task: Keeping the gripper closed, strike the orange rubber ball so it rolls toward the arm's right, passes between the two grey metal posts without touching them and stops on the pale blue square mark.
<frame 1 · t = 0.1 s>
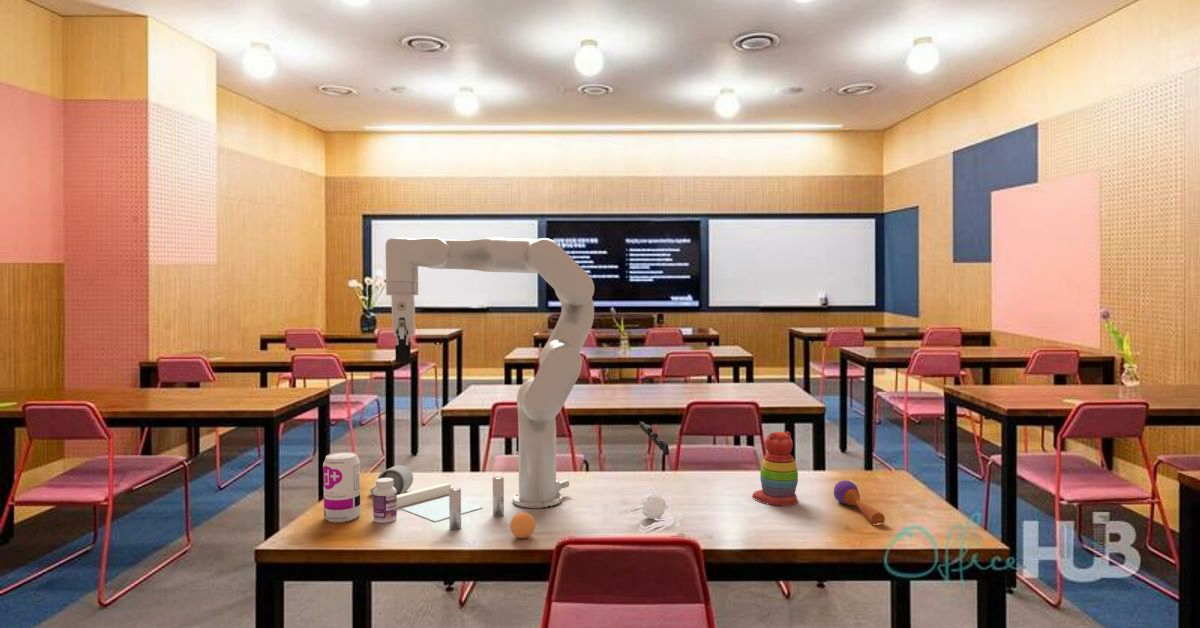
hand: (403, 359, 178), 37 cm above the table, tool pointing down, fingers open, 9 cm apart
ball: (522, 525, 161), on the table
post 1: (455, 528, 167), on the table
pill bottle: (385, 520, 173), on the table
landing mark: (442, 508, 181), on the table
stacking bear: (778, 501, 188), on the table
post 2: (498, 514, 176), on the table
supplement can: (342, 518, 175), on the table
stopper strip: (419, 500, 188), on the table
ceramic mug: (390, 495, 193), on the table
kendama: (858, 513, 178), on the table
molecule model: (651, 519, 174), on the table
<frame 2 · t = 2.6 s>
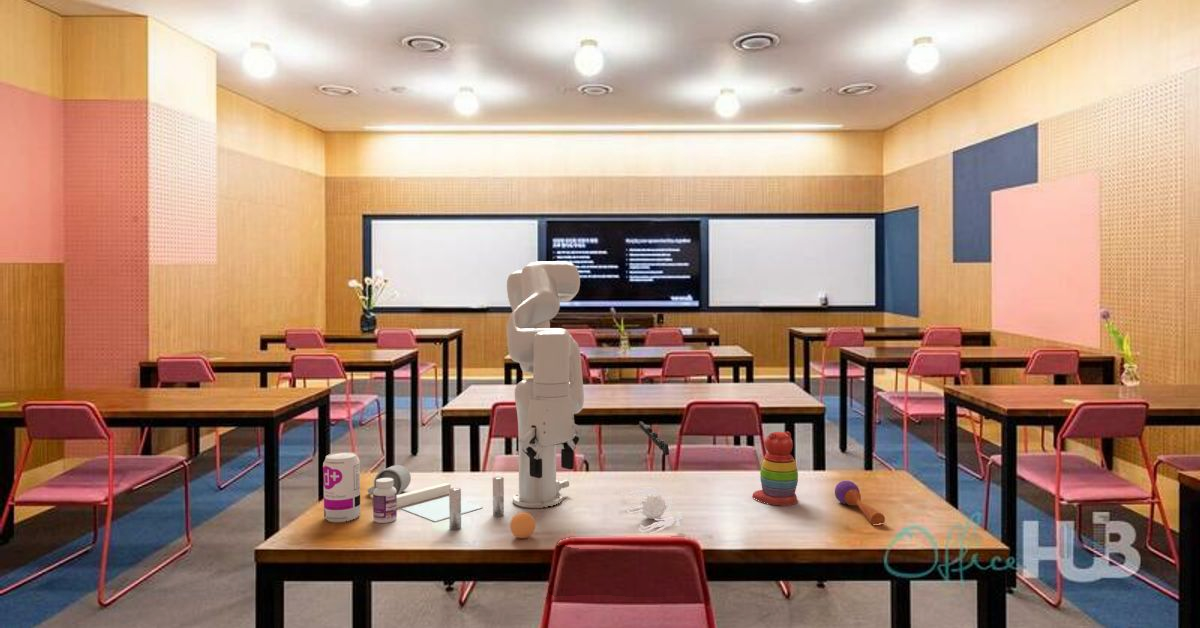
hand: (552, 472, 154), 16 cm above the table, tool pointing down, fingers open, 8 cm apart
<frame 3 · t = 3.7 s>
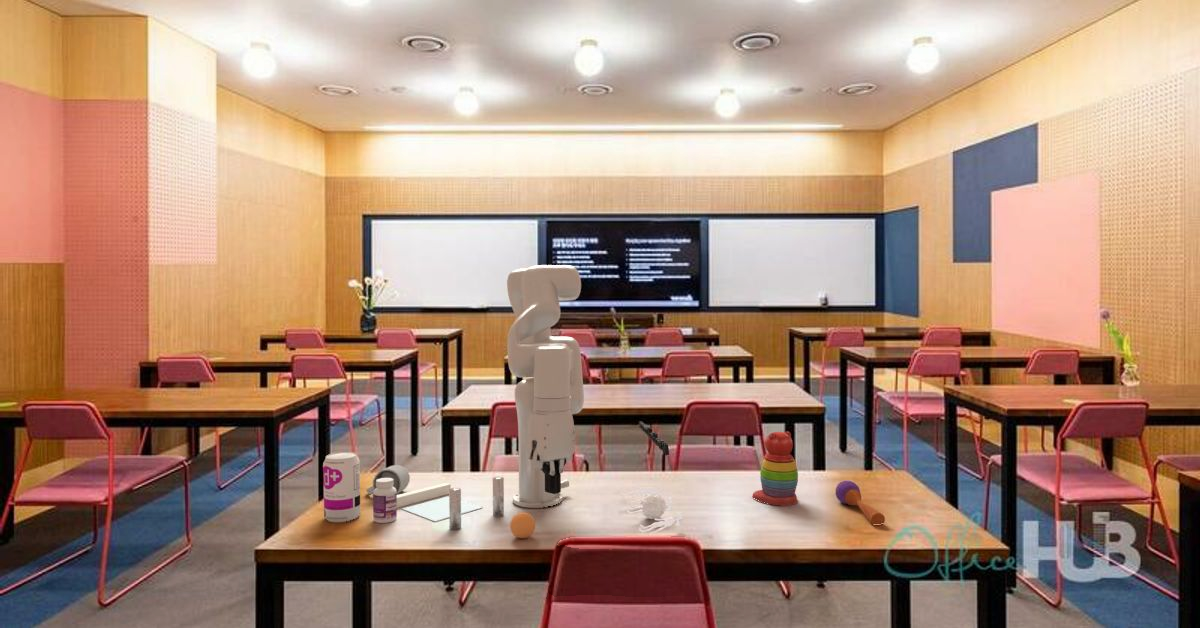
hand: (552, 492, 153), 12 cm above the table, tool pointing down, fingers closed
nothing on the table moved.
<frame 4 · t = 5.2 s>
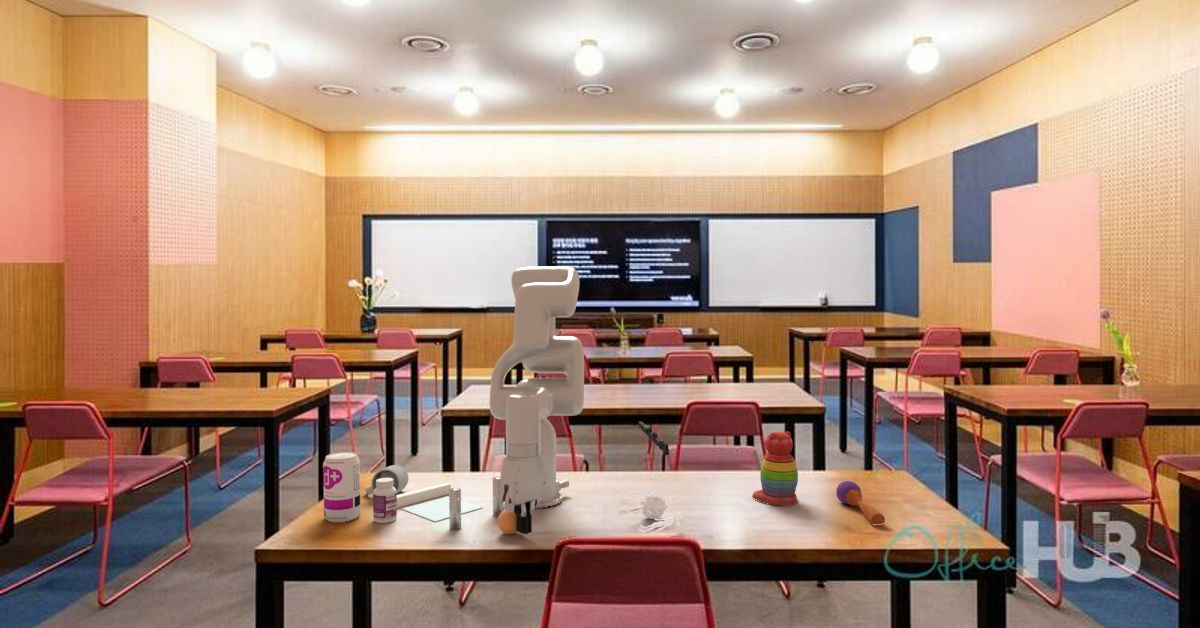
hand: (524, 531, 161), 1 cm above the table, tool pointing down, fingers closed
ball: (509, 521, 163), on the table
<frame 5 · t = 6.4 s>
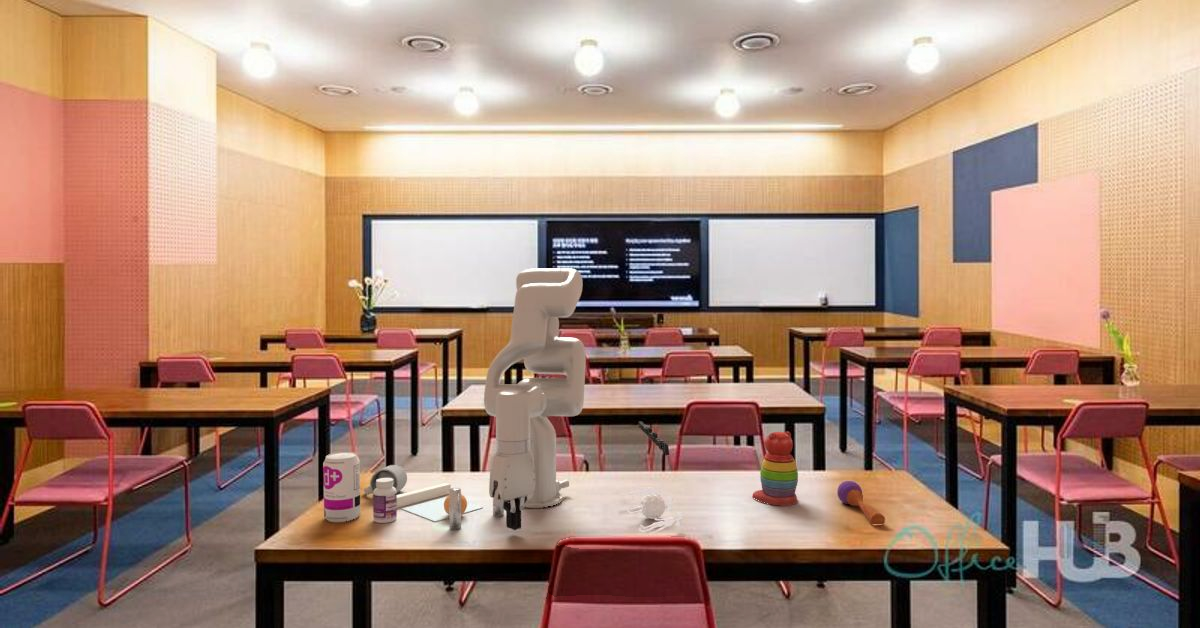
hand: (513, 527, 163), 1 cm above the table, tool pointing down, fingers closed
ball: (455, 504, 176), on the table
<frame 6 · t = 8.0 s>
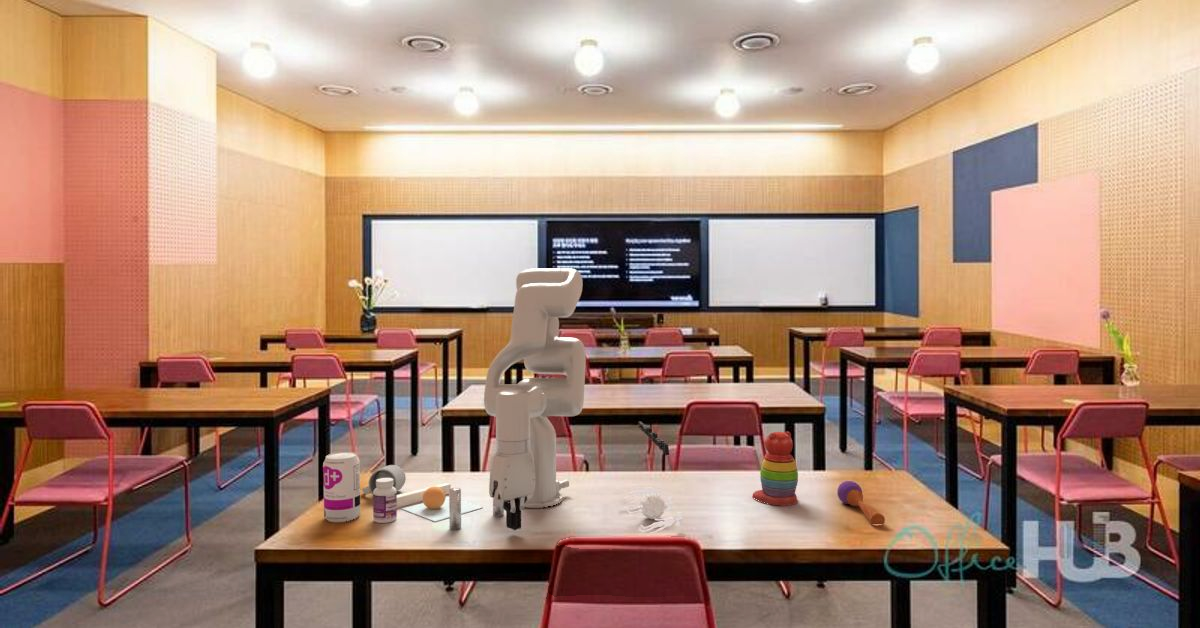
hand: (513, 527, 163), 1 cm above the table, tool pointing down, fingers closed
ball: (434, 497, 181), on the table
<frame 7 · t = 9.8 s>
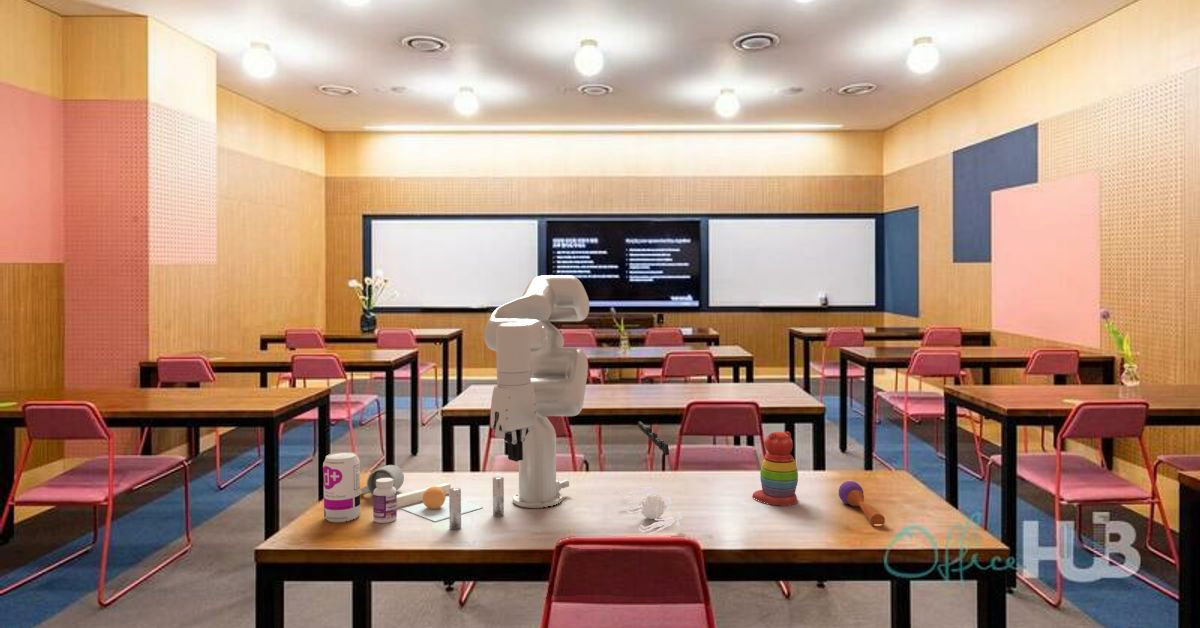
hand: (515, 459, 164), 16 cm above the table, tool pointing down, fingers closed
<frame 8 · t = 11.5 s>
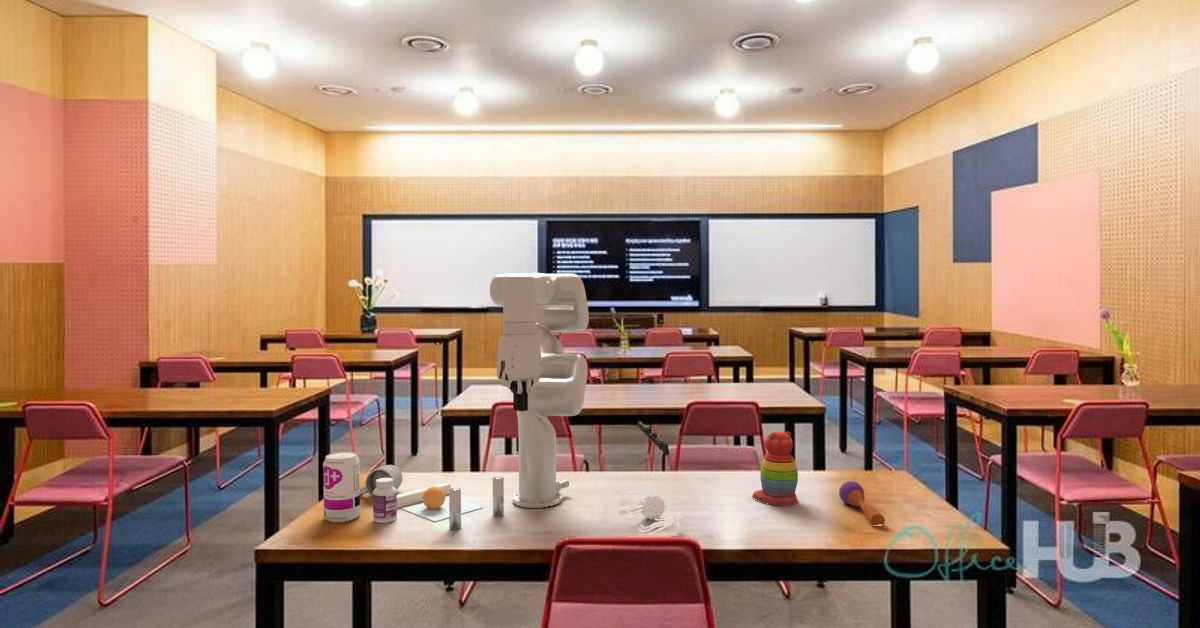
hand: (520, 410, 166), 27 cm above the table, tool pointing down, fingers closed
at the end: ball 2.0 cm from the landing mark (horizontally); ball never touched post 2; ball never touched post 1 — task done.
